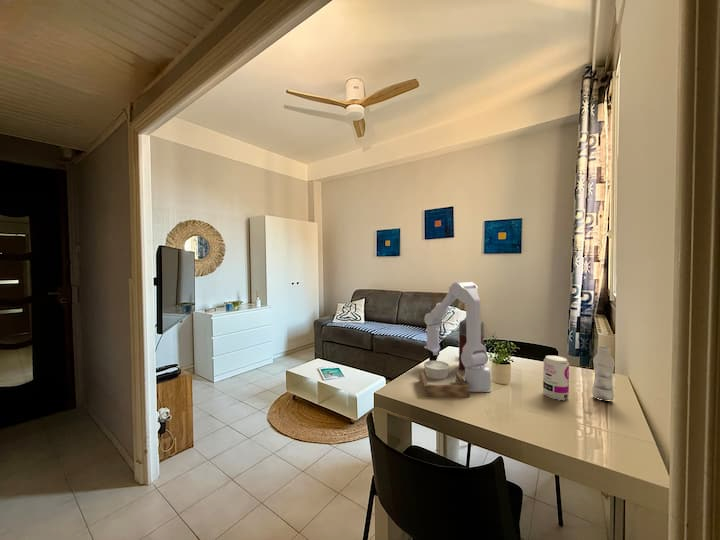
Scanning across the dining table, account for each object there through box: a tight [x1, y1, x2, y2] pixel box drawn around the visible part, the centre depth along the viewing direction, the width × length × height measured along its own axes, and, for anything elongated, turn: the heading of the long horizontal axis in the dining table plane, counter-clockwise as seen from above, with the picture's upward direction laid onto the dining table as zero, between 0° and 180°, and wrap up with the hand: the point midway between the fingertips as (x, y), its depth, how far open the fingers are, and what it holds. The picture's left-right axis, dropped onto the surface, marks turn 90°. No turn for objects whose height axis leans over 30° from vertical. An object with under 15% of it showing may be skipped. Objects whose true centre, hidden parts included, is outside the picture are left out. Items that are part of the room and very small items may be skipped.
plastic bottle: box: [591, 345, 616, 401], centre depth 113 cm, size 6×7×20 cm
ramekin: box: [423, 360, 450, 380], centre depth 137 cm, size 11×11×5 cm
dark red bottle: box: [458, 318, 485, 372], centre depth 146 cm, size 9×11×28 cm
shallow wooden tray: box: [419, 371, 470, 398], centre depth 124 cm, size 17×14×4 cm
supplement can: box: [542, 355, 570, 401], centre depth 116 cm, size 8×8×15 cm
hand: (432, 365), depth 147 cm, fingers closed
